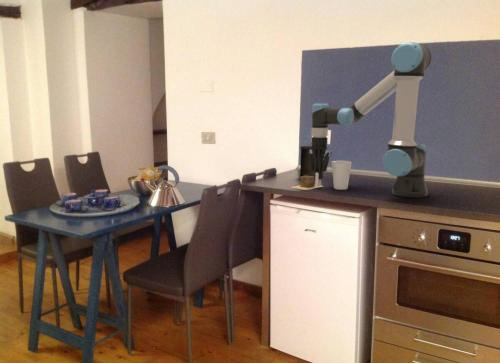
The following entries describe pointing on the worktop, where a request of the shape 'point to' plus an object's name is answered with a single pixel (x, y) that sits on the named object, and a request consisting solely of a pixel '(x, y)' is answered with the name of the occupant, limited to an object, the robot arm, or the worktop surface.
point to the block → (307, 181)
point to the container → (305, 162)
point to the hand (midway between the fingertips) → (318, 185)
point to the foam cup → (341, 174)
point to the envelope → (305, 188)
